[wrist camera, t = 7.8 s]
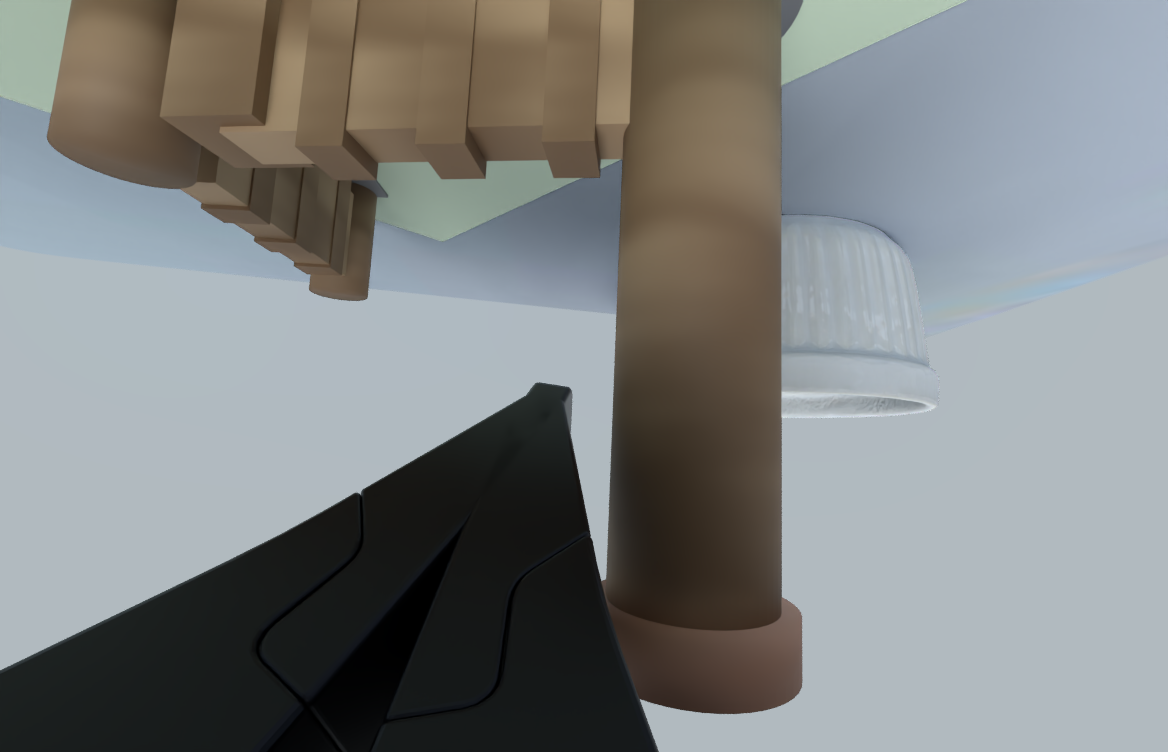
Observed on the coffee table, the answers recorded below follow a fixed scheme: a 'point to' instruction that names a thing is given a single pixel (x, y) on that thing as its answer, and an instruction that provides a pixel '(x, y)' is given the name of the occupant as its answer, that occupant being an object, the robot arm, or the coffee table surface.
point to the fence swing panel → (646, 254)
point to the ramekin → (850, 323)
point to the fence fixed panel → (197, 148)
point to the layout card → (452, 206)
